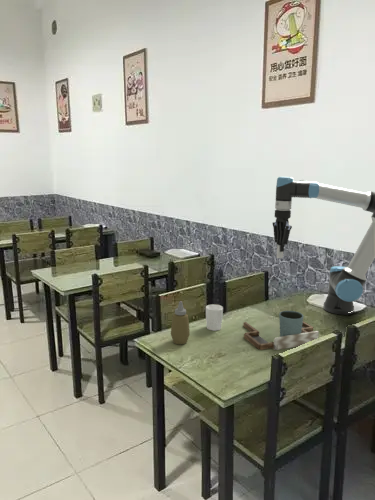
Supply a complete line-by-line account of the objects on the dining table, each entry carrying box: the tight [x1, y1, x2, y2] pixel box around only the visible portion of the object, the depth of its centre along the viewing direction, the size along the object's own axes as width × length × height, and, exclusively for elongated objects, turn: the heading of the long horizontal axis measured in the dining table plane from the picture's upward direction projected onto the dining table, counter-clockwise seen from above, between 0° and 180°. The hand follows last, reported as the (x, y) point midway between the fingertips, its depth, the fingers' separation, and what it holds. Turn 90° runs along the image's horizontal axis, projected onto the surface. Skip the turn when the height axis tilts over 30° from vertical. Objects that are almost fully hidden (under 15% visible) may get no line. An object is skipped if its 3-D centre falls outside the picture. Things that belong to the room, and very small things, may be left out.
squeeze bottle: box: [170, 300, 191, 345], centre depth 175 cm, size 8×8×18 cm
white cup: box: [205, 303, 224, 332], centre depth 192 cm, size 8×8×10 cm
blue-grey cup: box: [278, 310, 304, 337], centre depth 179 cm, size 10×10×12 cm
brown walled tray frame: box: [242, 320, 320, 351], centre depth 186 cm, size 33×26×5 cm
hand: (279, 257), depth 205 cm, fingers closed
